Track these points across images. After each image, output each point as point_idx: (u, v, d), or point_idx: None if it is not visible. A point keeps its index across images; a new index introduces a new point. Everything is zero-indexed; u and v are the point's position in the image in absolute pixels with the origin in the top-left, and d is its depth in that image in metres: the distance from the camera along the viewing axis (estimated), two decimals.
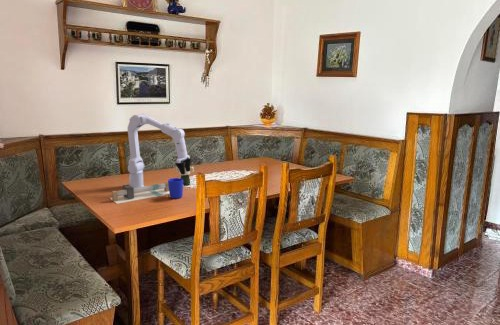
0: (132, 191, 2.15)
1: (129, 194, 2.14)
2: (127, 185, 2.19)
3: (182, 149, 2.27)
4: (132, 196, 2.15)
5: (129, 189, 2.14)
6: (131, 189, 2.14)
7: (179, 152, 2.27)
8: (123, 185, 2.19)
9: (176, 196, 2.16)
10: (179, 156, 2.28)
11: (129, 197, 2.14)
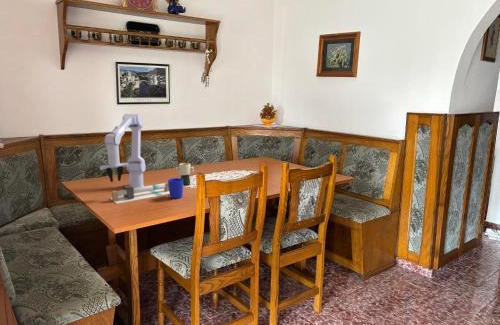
0: (132, 191, 2.15)
1: (129, 194, 2.14)
2: (127, 185, 2.19)
3: (108, 156, 2.12)
4: (132, 196, 2.15)
5: (129, 189, 2.14)
6: (131, 189, 2.14)
7: (108, 158, 2.12)
8: (123, 185, 2.19)
9: (176, 196, 2.16)
10: (108, 162, 2.13)
11: (129, 197, 2.14)
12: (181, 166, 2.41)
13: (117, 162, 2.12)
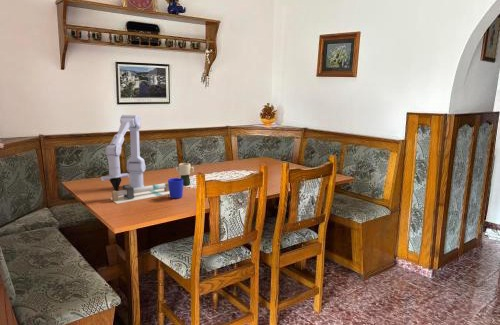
0: (132, 191, 2.15)
1: (129, 194, 2.14)
2: (127, 185, 2.19)
3: None
4: (132, 196, 2.15)
5: (129, 189, 2.14)
6: (131, 189, 2.14)
7: (109, 169, 2.13)
8: (123, 185, 2.19)
9: (176, 196, 2.16)
10: (109, 173, 2.14)
11: (129, 197, 2.14)
12: (181, 166, 2.42)
13: (118, 173, 2.13)
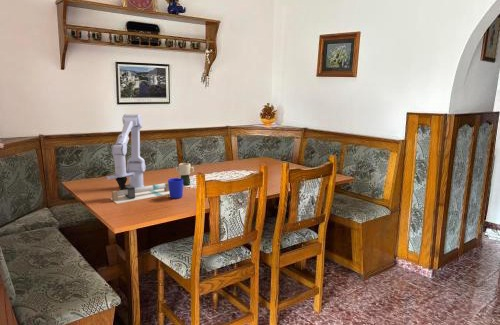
0: (133, 191, 2.15)
1: (130, 194, 2.14)
2: (128, 185, 2.19)
3: (115, 166, 2.15)
4: (133, 196, 2.16)
5: (130, 189, 2.14)
6: (132, 189, 2.15)
7: (115, 168, 2.15)
8: None
9: (176, 196, 2.16)
10: (115, 172, 2.16)
11: (130, 197, 2.15)
12: (181, 166, 2.41)
13: (124, 172, 2.15)
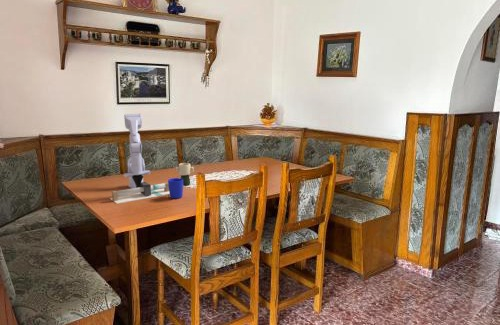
0: (149, 188, 2.20)
1: (146, 191, 2.20)
2: (144, 182, 2.25)
3: (132, 164, 2.19)
4: (149, 193, 2.21)
5: (146, 186, 2.19)
6: (148, 186, 2.20)
7: (131, 166, 2.20)
8: None
9: (176, 196, 2.16)
10: (131, 170, 2.21)
11: (146, 194, 2.20)
12: (181, 166, 2.42)
13: (140, 170, 2.21)
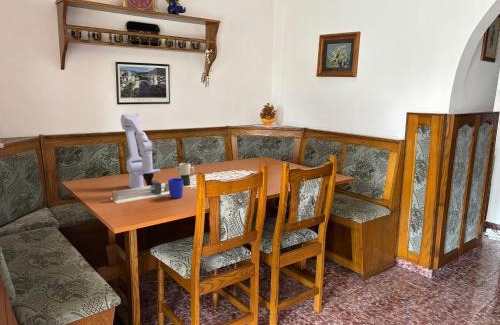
0: (160, 186, 2.24)
1: (157, 189, 2.23)
2: (154, 181, 2.28)
3: (144, 163, 2.22)
4: (160, 191, 2.25)
5: (157, 184, 2.23)
6: (159, 184, 2.24)
7: (142, 165, 2.24)
8: (151, 181, 2.28)
9: (176, 196, 2.16)
10: (142, 169, 2.25)
11: (157, 192, 2.24)
12: (181, 166, 2.42)
13: (151, 168, 2.24)
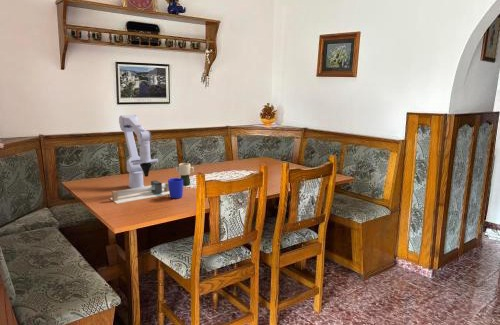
0: (160, 186, 2.24)
1: (157, 189, 2.23)
2: (155, 181, 2.29)
3: (142, 152, 2.21)
4: (160, 191, 2.25)
5: (157, 184, 2.23)
6: (159, 184, 2.24)
7: (140, 154, 2.23)
8: (151, 181, 2.29)
9: (176, 196, 2.16)
10: (140, 158, 2.24)
11: (157, 192, 2.24)
12: (181, 166, 2.41)
13: (148, 158, 2.23)
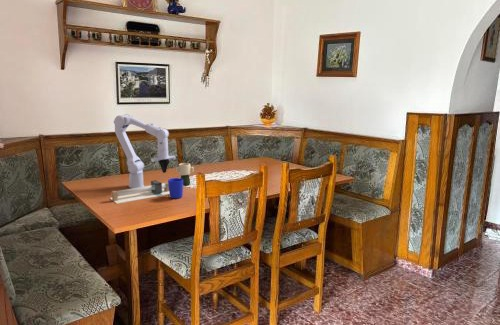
0: (160, 186, 2.24)
1: (157, 189, 2.23)
2: (155, 181, 2.29)
3: (164, 149, 2.31)
4: (160, 191, 2.25)
5: (157, 184, 2.23)
6: (159, 184, 2.24)
7: (158, 151, 2.32)
8: (151, 181, 2.29)
9: (176, 196, 2.16)
10: (158, 155, 2.33)
11: (157, 192, 2.24)
12: (181, 166, 2.41)
13: (166, 155, 2.32)
